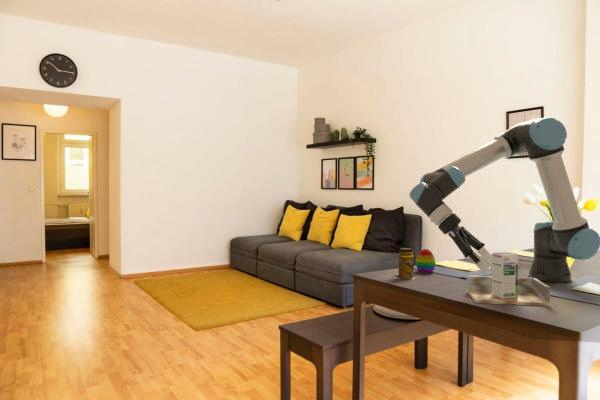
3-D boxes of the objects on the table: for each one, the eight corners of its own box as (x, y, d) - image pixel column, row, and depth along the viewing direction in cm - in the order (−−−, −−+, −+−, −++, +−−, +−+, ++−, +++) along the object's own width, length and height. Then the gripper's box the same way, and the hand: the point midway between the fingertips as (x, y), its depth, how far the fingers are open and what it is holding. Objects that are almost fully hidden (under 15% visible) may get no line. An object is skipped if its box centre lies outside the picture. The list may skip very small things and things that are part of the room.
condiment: (415, 279, 179) (416, 249, 179) (394, 279, 180) (394, 249, 179) (412, 275, 186) (412, 247, 186) (392, 275, 187) (392, 247, 187)
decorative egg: (428, 269, 200) (428, 247, 200) (439, 272, 192) (439, 249, 192) (412, 270, 198) (412, 248, 197) (422, 274, 190) (423, 250, 189)
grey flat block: (534, 295, 154) (535, 277, 153) (549, 306, 140) (550, 287, 140) (467, 292, 158) (467, 275, 157) (475, 302, 144) (476, 284, 144)
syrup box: (502, 299, 144) (502, 254, 143) (491, 294, 150) (491, 251, 149) (518, 298, 145) (518, 253, 144) (506, 293, 151) (507, 251, 150)
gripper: (447, 224, 168) (488, 267, 161) (427, 229, 147) (473, 280, 140) (461, 210, 165) (505, 254, 158) (443, 214, 144) (492, 265, 137)
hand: (490, 266), depth 149 cm, fingers open, 13 cm apart
